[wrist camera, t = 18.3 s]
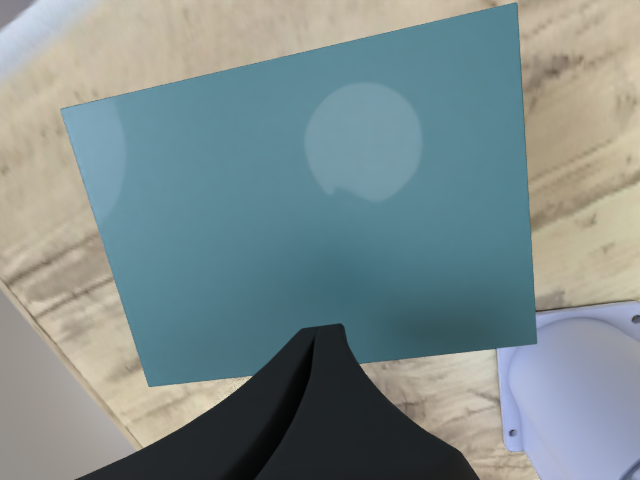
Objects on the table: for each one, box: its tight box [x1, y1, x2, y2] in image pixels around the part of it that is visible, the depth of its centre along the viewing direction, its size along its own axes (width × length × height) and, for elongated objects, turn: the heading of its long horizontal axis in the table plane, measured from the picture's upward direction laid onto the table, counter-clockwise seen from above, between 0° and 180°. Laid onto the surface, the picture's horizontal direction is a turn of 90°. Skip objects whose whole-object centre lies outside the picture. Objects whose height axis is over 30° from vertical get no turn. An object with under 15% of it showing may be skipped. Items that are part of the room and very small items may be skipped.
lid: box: [60, 3, 537, 387], centre depth 13 cm, size 11×16×1 cm
